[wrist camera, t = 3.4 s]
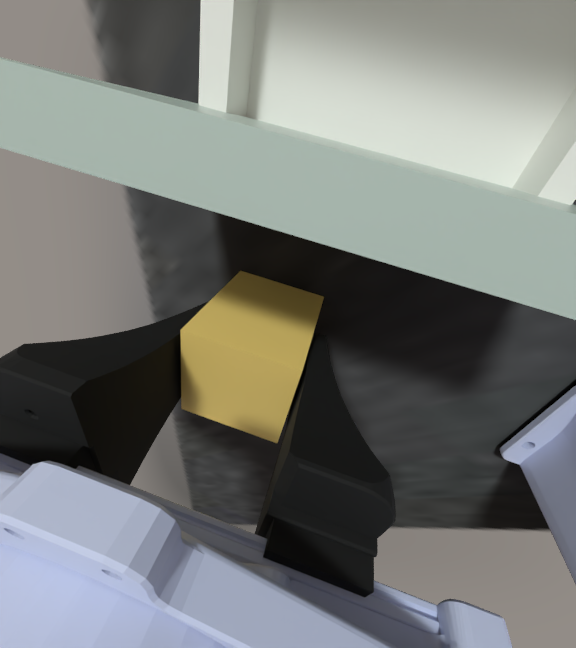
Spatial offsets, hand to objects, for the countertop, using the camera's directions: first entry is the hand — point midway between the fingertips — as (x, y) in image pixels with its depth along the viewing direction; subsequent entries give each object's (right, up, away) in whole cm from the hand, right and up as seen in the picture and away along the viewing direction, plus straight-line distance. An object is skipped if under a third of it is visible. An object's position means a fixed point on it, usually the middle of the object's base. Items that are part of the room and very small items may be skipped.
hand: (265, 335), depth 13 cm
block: (0, +1, +1) cm, 1 cm away
